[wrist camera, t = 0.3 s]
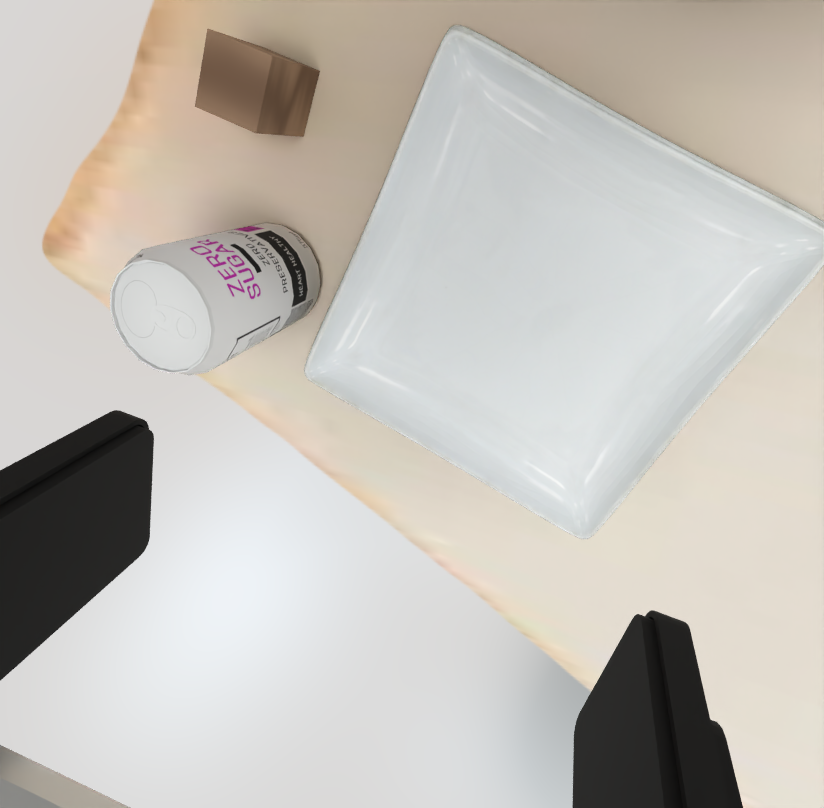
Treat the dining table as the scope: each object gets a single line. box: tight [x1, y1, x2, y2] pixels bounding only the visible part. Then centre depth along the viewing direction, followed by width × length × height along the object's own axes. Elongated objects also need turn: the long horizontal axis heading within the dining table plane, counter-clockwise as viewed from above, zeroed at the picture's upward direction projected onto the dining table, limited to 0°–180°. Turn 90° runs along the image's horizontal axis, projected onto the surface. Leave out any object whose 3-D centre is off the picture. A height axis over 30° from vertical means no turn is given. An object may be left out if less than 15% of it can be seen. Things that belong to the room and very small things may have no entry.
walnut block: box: [195, 29, 320, 136], centre depth 39 cm, size 4×4×7 cm
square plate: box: [304, 25, 824, 539], centre depth 42 cm, size 27×27×4 cm
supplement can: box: [110, 223, 320, 375], centre depth 41 cm, size 8×8×15 cm
